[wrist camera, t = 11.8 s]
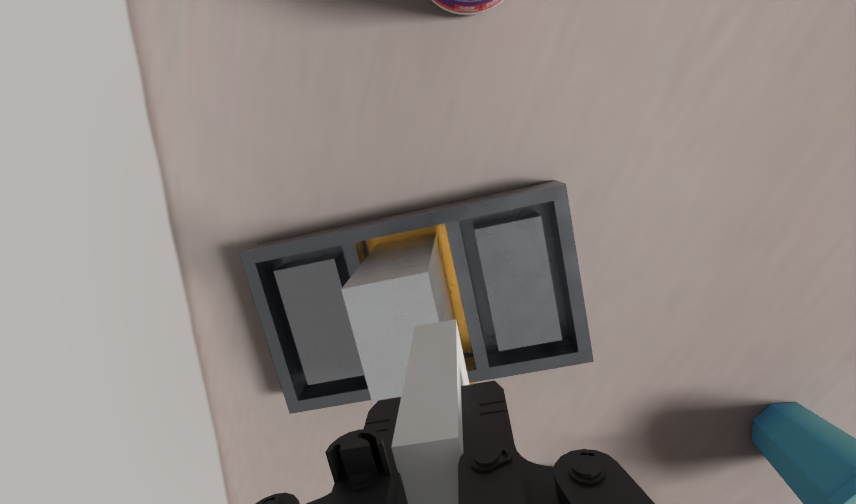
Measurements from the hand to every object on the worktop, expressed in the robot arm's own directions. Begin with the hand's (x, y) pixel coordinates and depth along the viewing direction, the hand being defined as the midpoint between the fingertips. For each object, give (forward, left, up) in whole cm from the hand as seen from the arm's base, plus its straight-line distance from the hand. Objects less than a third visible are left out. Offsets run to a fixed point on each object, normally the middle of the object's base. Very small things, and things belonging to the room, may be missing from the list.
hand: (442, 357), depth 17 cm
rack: (+4, -3, -22) cm, 22 cm away
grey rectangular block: (+4, -3, -21) cm, 22 cm away
